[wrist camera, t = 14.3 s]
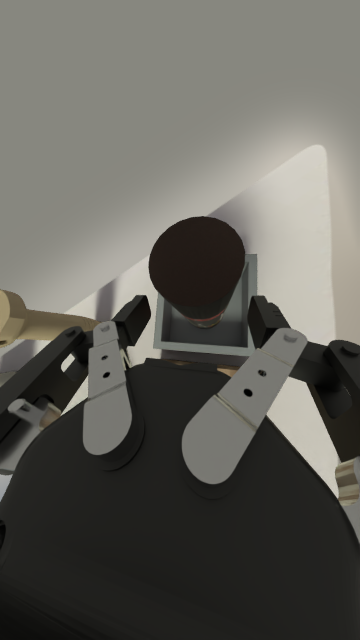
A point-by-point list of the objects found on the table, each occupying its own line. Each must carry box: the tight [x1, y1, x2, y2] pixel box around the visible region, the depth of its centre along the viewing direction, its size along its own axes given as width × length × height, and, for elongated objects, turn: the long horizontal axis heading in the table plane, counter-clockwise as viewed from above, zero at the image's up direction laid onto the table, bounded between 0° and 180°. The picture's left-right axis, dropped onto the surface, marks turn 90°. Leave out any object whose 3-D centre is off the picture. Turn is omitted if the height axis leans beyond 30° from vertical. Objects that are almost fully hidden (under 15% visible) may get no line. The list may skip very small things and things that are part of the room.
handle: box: [0, 289, 102, 348], centre depth 21 cm, size 5×6×15 cm
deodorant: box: [149, 216, 245, 329], centre depth 16 cm, size 6×6×15 cm
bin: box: [153, 254, 257, 356], centre depth 22 cm, size 13×13×5 cm
